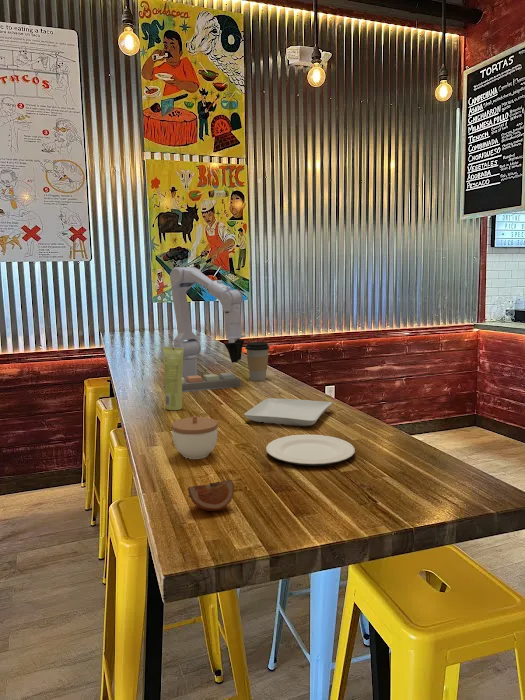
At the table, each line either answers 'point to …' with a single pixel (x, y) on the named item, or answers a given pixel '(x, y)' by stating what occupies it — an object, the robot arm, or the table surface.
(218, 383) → the grey flat slotted tray
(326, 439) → the plate
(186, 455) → the lidded jar
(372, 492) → the table surface
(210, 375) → the key sage
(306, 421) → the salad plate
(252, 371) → the coffee cup
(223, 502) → the fruit slice
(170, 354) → the tube
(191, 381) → the key terracotta
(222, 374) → the key slate
